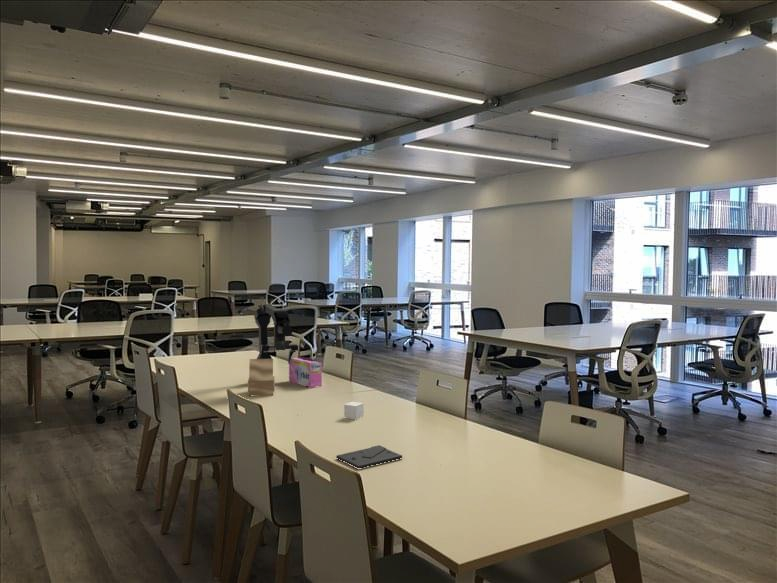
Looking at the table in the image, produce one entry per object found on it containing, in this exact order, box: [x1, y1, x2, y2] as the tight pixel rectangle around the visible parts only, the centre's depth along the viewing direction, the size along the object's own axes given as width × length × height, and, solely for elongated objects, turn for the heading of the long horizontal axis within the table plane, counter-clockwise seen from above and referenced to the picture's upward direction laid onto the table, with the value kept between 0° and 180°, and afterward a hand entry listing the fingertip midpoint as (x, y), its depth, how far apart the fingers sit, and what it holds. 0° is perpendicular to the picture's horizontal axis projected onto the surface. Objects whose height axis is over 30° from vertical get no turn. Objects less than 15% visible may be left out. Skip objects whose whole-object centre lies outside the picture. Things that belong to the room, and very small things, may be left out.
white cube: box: [343, 401, 365, 420], centre depth 254 cm, size 6×6×6 cm
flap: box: [248, 358, 274, 381], centre depth 298 cm, size 12×12×1 cm
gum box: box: [288, 356, 323, 388], centre depth 327 cm, size 24×8×14 cm, turn 39°
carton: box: [247, 375, 276, 397], centre depth 302 cm, size 12×13×8 cm
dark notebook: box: [335, 444, 403, 468], centre depth 200 cm, size 13×2×18 cm
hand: (279, 363), depth 308 cm, fingers open, 9 cm apart
